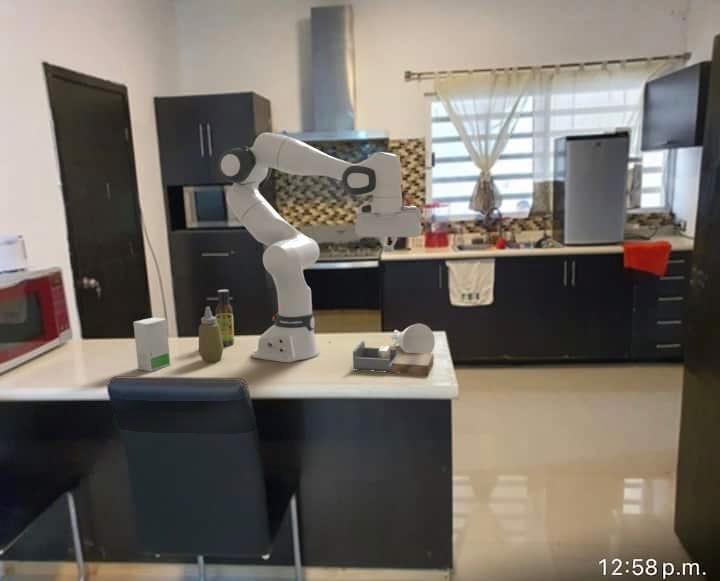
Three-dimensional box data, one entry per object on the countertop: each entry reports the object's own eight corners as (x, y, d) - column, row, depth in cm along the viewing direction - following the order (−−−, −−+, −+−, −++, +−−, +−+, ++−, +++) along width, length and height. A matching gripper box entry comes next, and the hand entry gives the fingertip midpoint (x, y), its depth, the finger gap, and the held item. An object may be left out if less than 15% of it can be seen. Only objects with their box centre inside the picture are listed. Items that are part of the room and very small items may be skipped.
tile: (386, 366, 173) (378, 366, 174) (390, 361, 178) (382, 360, 178) (386, 350, 172) (378, 350, 173) (389, 346, 177) (382, 345, 177)
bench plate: (391, 372, 170) (391, 363, 169) (398, 361, 180) (398, 352, 180) (428, 375, 167) (428, 365, 166) (433, 363, 177) (433, 354, 177)
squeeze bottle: (229, 357, 189) (225, 305, 185) (213, 365, 181) (209, 310, 178) (210, 354, 192) (206, 303, 188) (194, 362, 185) (189, 308, 181)
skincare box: (150, 372, 176) (145, 324, 173) (136, 369, 179) (131, 322, 176) (171, 364, 183) (167, 318, 180) (158, 361, 186) (153, 316, 183)
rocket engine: (391, 316, 198) (414, 316, 181) (416, 334, 201) (440, 336, 185) (374, 344, 196) (396, 347, 179) (399, 362, 199) (423, 366, 182)
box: (353, 370, 173) (352, 351, 172) (362, 358, 183) (362, 341, 182) (391, 372, 170) (391, 353, 169) (398, 361, 180) (398, 343, 179)
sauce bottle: (216, 347, 200) (211, 292, 196) (217, 342, 206) (213, 289, 202) (234, 346, 201) (230, 291, 197) (235, 341, 207) (231, 288, 203)
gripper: (423, 205, 172) (423, 250, 175) (358, 206, 178) (359, 249, 180) (419, 206, 166) (420, 253, 169) (353, 207, 172) (354, 252, 174)
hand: (388, 251), depth 175 cm, fingers closed
